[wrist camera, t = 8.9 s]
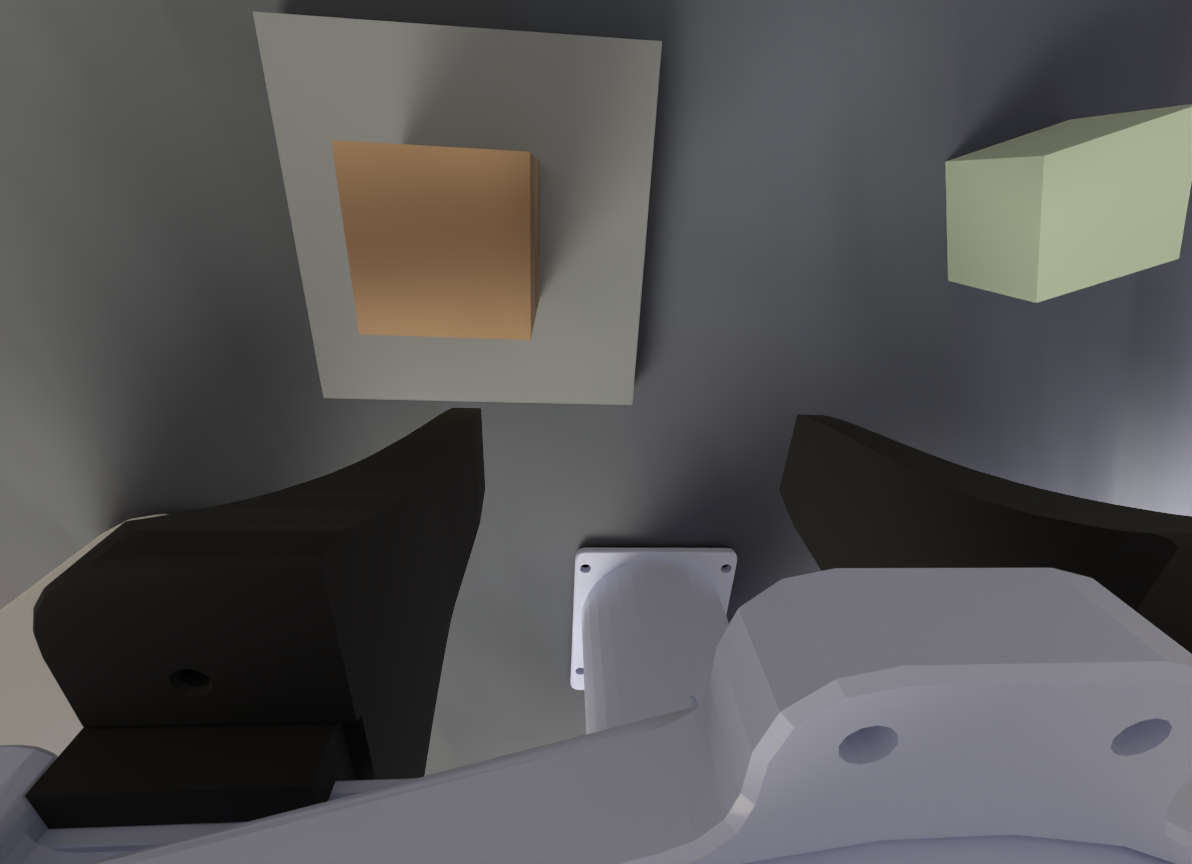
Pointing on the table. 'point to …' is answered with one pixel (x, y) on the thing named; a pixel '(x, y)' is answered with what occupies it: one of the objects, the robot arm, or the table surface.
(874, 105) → the table surface
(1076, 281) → the pale green block
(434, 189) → the walnut block
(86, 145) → the table surface
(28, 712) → the potion bottle
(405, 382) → the grey square tile
